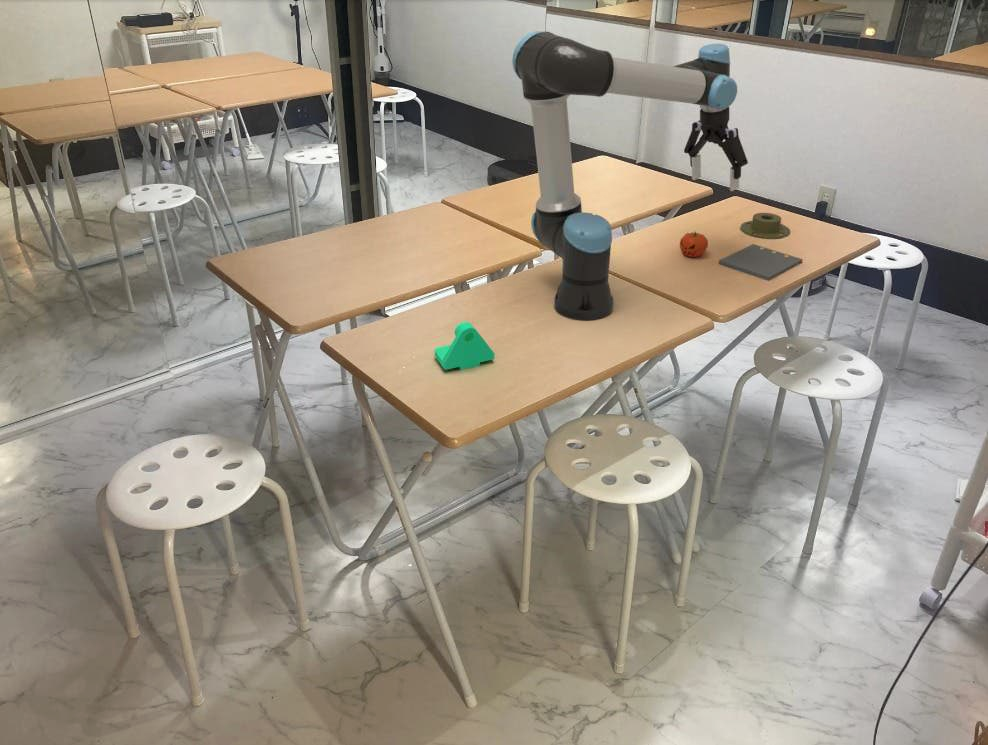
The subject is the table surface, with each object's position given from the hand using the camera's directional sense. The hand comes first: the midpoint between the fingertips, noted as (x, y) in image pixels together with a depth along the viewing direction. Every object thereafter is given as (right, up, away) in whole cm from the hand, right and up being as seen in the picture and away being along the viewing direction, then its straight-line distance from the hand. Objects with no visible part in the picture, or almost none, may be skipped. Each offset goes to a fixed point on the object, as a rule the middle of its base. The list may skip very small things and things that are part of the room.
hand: (715, 183), depth 220 cm
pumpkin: (-3, -18, +14) cm, 23 cm away
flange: (+24, -8, +31) cm, 40 cm away
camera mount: (-68, -50, -38) cm, 93 cm away
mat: (+15, -21, +8) cm, 27 cm away
